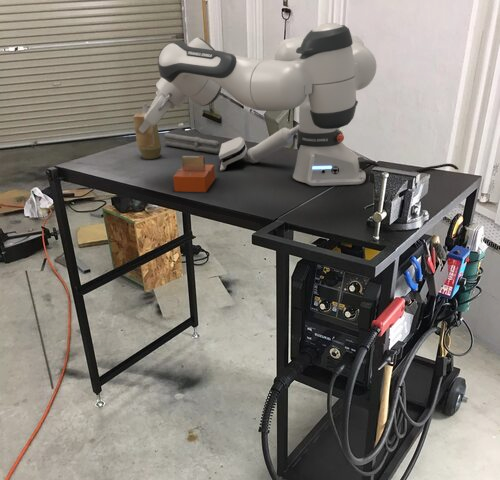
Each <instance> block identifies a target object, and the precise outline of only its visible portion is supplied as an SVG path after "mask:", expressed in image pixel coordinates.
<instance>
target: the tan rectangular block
mask: <svg viewBox="0 0 500 480" xmlns="http://www.w3.org/2000/svg"><path fill="white" fill-rule="evenodd" d="M181 160H182V167H183V171H205V165H206V160H205V155H203V154H202V155H201V154H200V155H183V156H181Z"/></svg>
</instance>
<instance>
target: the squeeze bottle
mask: <svg viewBox="0 0 500 480" xmlns="http://www.w3.org/2000/svg"><path fill="white" fill-rule="evenodd" d="M148 110H149V108H148V105H147V103H143V104H142V111H141V112H142V113H147V111H148ZM142 113H141V114H142ZM153 133H154V142H155V143H154V145H153V146H152V147H138V150H139V152H140V154H141V156H142V158H143V159H145V160H154V159H158V158H160V156H161V152H162V151H161V150H162V142H161V138H160V133H159V128H158V123H157V124H156V125H155V126H154V127H153Z"/></svg>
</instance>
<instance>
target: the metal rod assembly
mask: <svg viewBox="0 0 500 480" xmlns="http://www.w3.org/2000/svg"><path fill="white" fill-rule="evenodd" d="M163 135H164V139H166V140H165V141H164V144H165V146H168V147H173V148H180V149H187V150H191V151H195V152H205V153H211V154H215V155H217V154H218V155H219V153H220V148H219V146H220V141H218V140H214V139H207V138H202V137H199V136H189V135H182V134H175V133H169V132H165V133H164V134H163Z"/></svg>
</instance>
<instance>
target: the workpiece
mask: <svg viewBox="0 0 500 480" xmlns="http://www.w3.org/2000/svg"><path fill="white" fill-rule="evenodd" d="M145 115H146V113H135V114H134V115H133V117H132V118H133V126H134V133H135V139H136V146H137V148H139V147H152V146H153V145H154V143H155V142H154V133H153V127H152V126H150V127H149V128H148V129H147V130H146V131H145V132H144V133H141V132H140V131H139V127H140V126H141V125H142V123H143V122H144V117H145Z"/></svg>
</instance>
